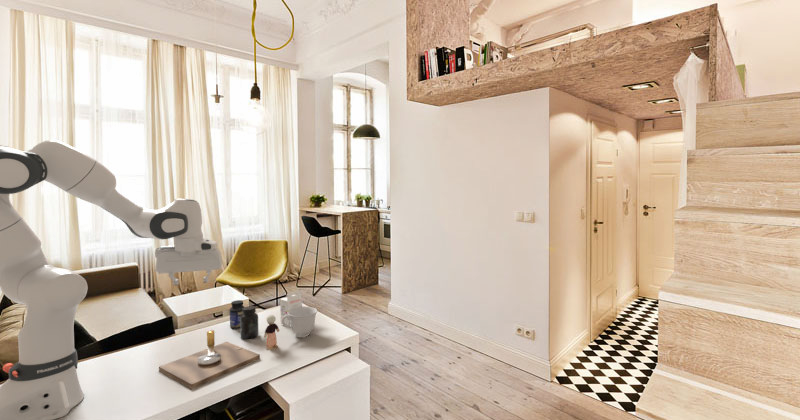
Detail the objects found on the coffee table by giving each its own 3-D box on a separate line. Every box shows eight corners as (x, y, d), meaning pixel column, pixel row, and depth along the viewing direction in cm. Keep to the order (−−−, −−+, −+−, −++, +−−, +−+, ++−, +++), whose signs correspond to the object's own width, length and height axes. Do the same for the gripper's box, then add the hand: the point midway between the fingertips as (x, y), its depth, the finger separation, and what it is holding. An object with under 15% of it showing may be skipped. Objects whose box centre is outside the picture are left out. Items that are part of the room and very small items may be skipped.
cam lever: (221, 362, 125) (220, 343, 125) (197, 367, 122) (196, 347, 122) (219, 346, 138) (219, 329, 138) (198, 349, 135) (197, 332, 134)
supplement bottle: (238, 336, 152) (237, 307, 151) (255, 332, 156) (255, 304, 156) (243, 341, 147) (242, 311, 146) (260, 337, 151) (260, 308, 150)
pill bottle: (239, 329, 159) (239, 304, 158) (226, 328, 160) (226, 303, 159) (248, 324, 165) (247, 300, 164) (235, 323, 166) (235, 299, 165)
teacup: (276, 335, 153) (275, 311, 152) (309, 327, 162) (309, 304, 162) (288, 345, 144) (288, 320, 143) (322, 335, 153) (322, 311, 153)
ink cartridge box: (295, 319, 172) (294, 287, 171) (302, 321, 170) (302, 289, 169) (280, 324, 165) (279, 292, 164) (287, 327, 162) (287, 293, 161)
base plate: (191, 389, 112) (191, 383, 112) (159, 371, 123) (158, 366, 123) (259, 358, 132) (259, 354, 132) (226, 345, 143) (226, 341, 143)
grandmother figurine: (272, 343, 145) (271, 311, 145) (281, 344, 145) (280, 312, 144) (260, 351, 138) (260, 318, 137) (270, 352, 137) (269, 319, 136)
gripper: (151, 248, 124) (154, 288, 125) (219, 244, 130) (221, 283, 131) (157, 245, 130) (159, 283, 131) (221, 241, 136) (223, 278, 137)
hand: (191, 283), depth 131 cm, fingers open, 8 cm apart
